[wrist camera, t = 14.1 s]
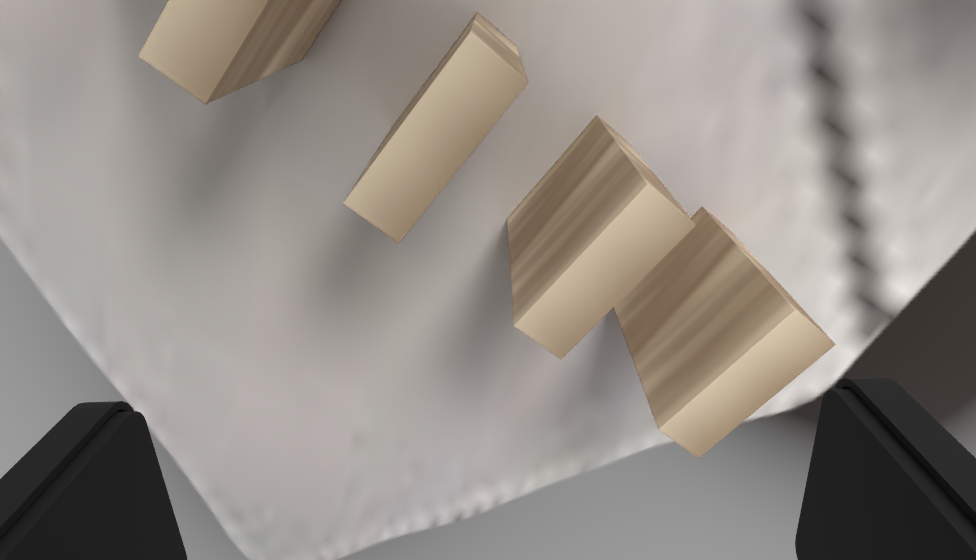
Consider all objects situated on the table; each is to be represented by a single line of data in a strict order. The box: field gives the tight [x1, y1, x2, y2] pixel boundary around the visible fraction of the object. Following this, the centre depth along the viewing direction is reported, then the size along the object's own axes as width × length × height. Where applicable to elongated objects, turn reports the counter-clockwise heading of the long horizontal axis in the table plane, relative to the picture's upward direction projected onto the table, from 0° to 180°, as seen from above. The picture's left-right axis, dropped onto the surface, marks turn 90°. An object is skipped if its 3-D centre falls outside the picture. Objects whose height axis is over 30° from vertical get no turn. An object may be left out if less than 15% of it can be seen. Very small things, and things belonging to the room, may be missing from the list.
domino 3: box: [507, 116, 696, 359], centre depth 25 cm, size 2×6×10 cm, turn 141°
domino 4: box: [614, 207, 836, 458], centre depth 26 cm, size 2×6×10 cm, turn 141°
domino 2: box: [343, 12, 528, 243], centre depth 23 cm, size 2×6×10 cm, turn 141°
